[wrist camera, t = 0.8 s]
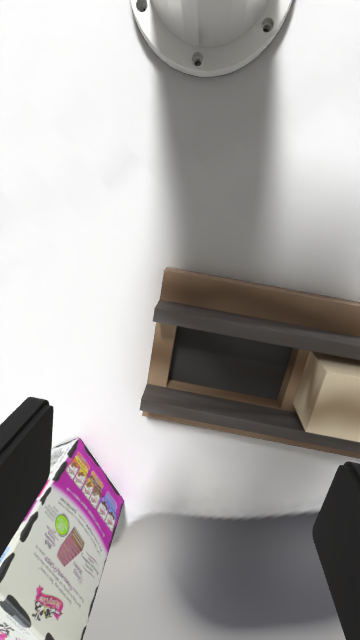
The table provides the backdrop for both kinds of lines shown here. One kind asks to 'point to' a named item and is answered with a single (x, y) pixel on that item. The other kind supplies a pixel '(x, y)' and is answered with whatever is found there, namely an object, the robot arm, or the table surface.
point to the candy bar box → (59, 551)
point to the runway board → (243, 356)
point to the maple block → (330, 396)
